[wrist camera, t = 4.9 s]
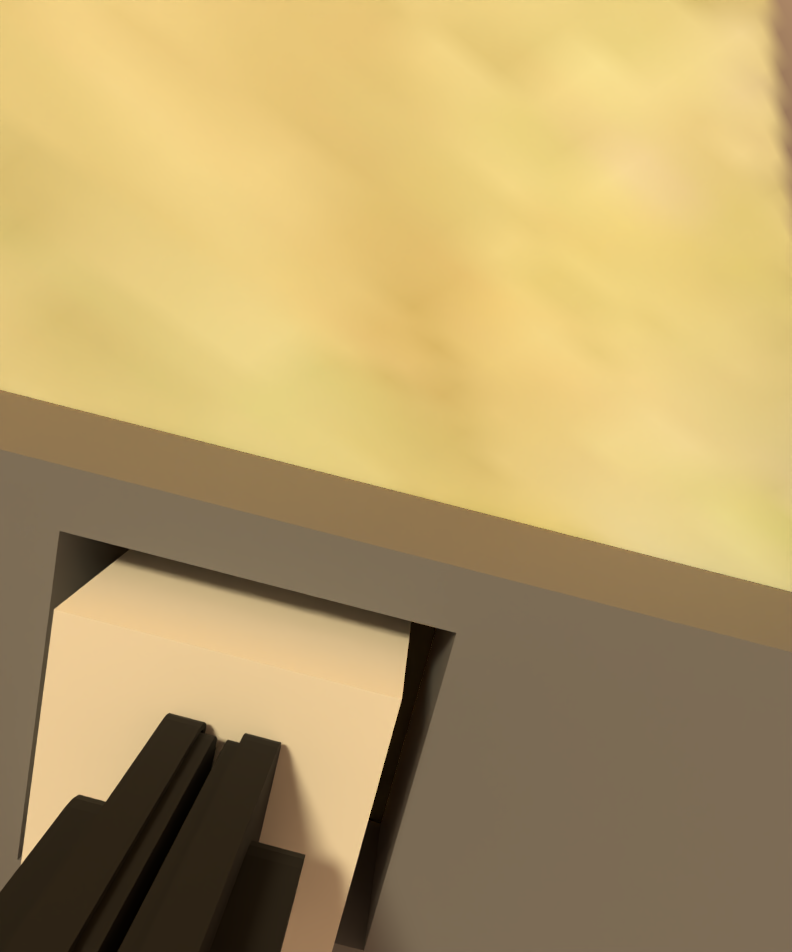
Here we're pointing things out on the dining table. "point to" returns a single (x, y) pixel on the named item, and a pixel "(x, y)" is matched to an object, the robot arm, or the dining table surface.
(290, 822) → the cream button
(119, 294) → the dining table surface
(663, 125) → the dining table surface
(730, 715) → the switch panel
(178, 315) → the dining table surface
